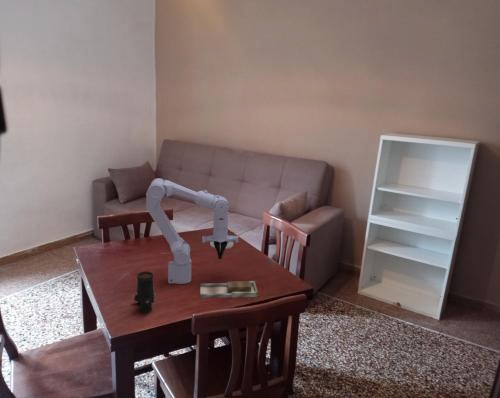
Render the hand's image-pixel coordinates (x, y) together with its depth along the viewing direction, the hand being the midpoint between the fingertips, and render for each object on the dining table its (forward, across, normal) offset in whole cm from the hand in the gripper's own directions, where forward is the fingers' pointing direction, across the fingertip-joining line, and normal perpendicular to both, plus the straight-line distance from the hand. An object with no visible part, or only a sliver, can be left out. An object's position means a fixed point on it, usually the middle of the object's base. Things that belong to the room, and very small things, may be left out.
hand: (219, 258), depth 159 cm
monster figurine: (+11, +3, +39) cm, 41 cm away
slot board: (+10, +3, -10) cm, 15 cm away
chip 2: (+10, +10, -10) cm, 17 cm away
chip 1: (+10, +5, -10) cm, 15 cm away
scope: (+10, -27, -20) cm, 35 cm away
